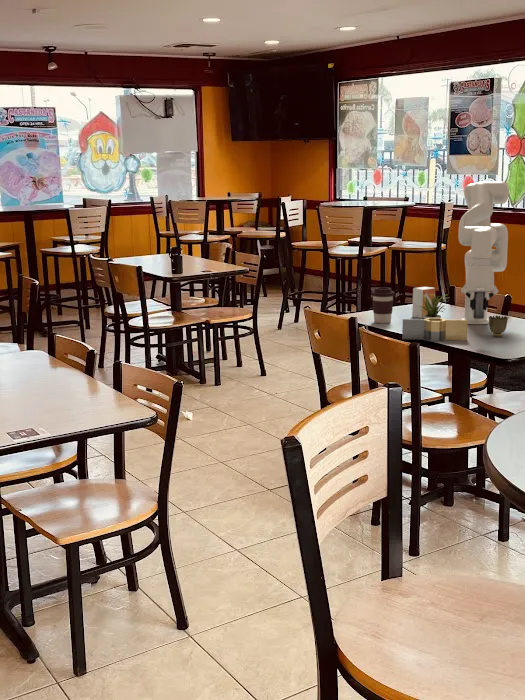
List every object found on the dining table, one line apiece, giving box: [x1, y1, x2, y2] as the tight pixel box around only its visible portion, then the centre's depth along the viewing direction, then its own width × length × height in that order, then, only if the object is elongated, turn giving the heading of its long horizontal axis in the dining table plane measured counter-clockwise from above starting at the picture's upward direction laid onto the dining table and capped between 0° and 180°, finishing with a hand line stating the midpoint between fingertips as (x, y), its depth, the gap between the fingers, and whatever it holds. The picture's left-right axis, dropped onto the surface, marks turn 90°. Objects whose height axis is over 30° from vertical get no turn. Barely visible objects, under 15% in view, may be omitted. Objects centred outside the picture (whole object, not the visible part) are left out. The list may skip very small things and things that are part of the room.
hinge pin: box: [473, 288, 485, 319], centre depth 331 cm, size 5×5×12 cm
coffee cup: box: [371, 286, 395, 324], centre depth 378 cm, size 10×10×15 cm
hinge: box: [401, 317, 469, 343], centre depth 342 cm, size 8×25×8 cm, turn 81°
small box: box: [412, 286, 436, 319], centre depth 390 cm, size 8×6×13 cm
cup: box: [488, 315, 509, 338], centre depth 346 cm, size 8×7×8 cm
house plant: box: [419, 293, 451, 319], centre depth 358 cm, size 14×14×16 cm
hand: (478, 309), depth 331 cm, fingers closed on hinge pin, 4 cm apart
